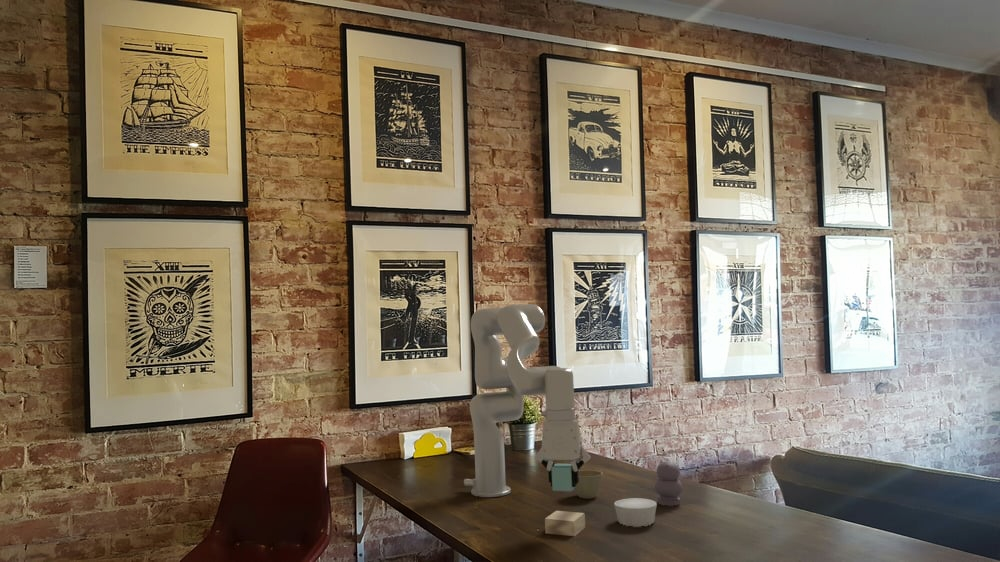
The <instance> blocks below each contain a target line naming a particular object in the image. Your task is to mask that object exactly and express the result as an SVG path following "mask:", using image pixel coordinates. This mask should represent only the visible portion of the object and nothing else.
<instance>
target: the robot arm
mask: <svg viewBox="0 0 1000 562" xmlns="http://www.w3.org/2000/svg"><path fill="white" fill-rule="evenodd" d="M545 324H546V317H545V313H544V311H543V310H542V309H541V307H540V306H538V305H537V304H511V305H505V306H503V307H487V308H480V309H478V310H476V311H475V312H474V313H473V314H472V316H471V319H470V331H471V335H472V339H473V343H474V379H475V384H476V386H477V387H478V388H479V389H482V390H495V389H496V390H497V389H505V391H496V392H494V391H492V392H483V393H479V394H476V395H475V396H473V397H472V399H471V400H470V402H469V412H470V416H471V417H470V418H471V423H472V429H473V443H474V444H473V445H474V466H475V467H474V468H475V473H474V474H475V478H473V479H470V478H464V480H463V485H464V486H465V487H472V488H471V491H470V492H471V493H470V494H471V495H472V496H475V497H478V496H479V497H478V498H497V497H503V496H507V495H509V494H510V493H511V487H510V486H508V485H507V482H506V461H505V460H506V458H505V438H504V435H503V432H502V430H501V429H500V428H499V427H498V426H497V423H501V422H513V421H517V420H519V419H521V418H522V416H523V414H524V410H525V409H524V406H525V405H524V403H525V400H524V399H525V396H526V397H529V396H539V395H545V410H543V411H541V412H540V416H541V417H544V418H545V420H544V421H543V424H542V431H541V432H542V433H541V448H540V449H539V451H537V453H536V455H535V456H534V458H535V460H537V461H538V462H539V463H541V465H542V466H543V467H544V468H545V469H546V471H547V472H548V483H550V487H552V468H551V467H552V466H554V465H555V464H556V463H555V462H556V461H557V462H558V461H561V462H562V461H563V462H565V461H566V462H570V464H571V465H572V468H573V469H572V487H575V486H576V485H577V483H579V474H578V470H580V469H581V467H583V465H585V464H586V463H587V462H588V461H590V459H591V458H592V457H591V455H590V454H589V453H588V451H587V450H586V449H585V448H584V447H583V441H582V435H581V429H580V424H579V421H578V419H576V408H575V407H576V406H575V405H576V404H575V388H574V386H575V385H574V373H573V371H572V369H571V368H568V367H560V366H557V365H548V366H547V365H546V366H532V367H531V366H530V367H525V366H524V365H523V364H522V362H521V361H524V360H525V359H526V358H528V357H530V356H532V355H533V354H534V353H535V352H536V351H537V350H538V348H539V346H540V338H539V336H538V334H537V333H539V332H542V330H543V329H544V328H545ZM502 335H503V336H504V338H505V340H506V343H508V346H509V347H510V351H509V353H508V355H507V357H506V358H503V357H502V356H503V355H502V351H503V350H502V349H503V347H502V344H501V341H500V340H499V338H498V336H502ZM581 457H582V458H581ZM580 458H581V459H580ZM578 460H580V461H578Z"/></svg>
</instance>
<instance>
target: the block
mask: <svg viewBox="0 0 1000 562" xmlns="http://www.w3.org/2000/svg"><path fill="white" fill-rule="evenodd" d="M551 468H552V492H553V491H554V492H572V491H574V488H575V487H572V469H573V468H572V465H571V463H554V466H552V467H551Z"/></svg>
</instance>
